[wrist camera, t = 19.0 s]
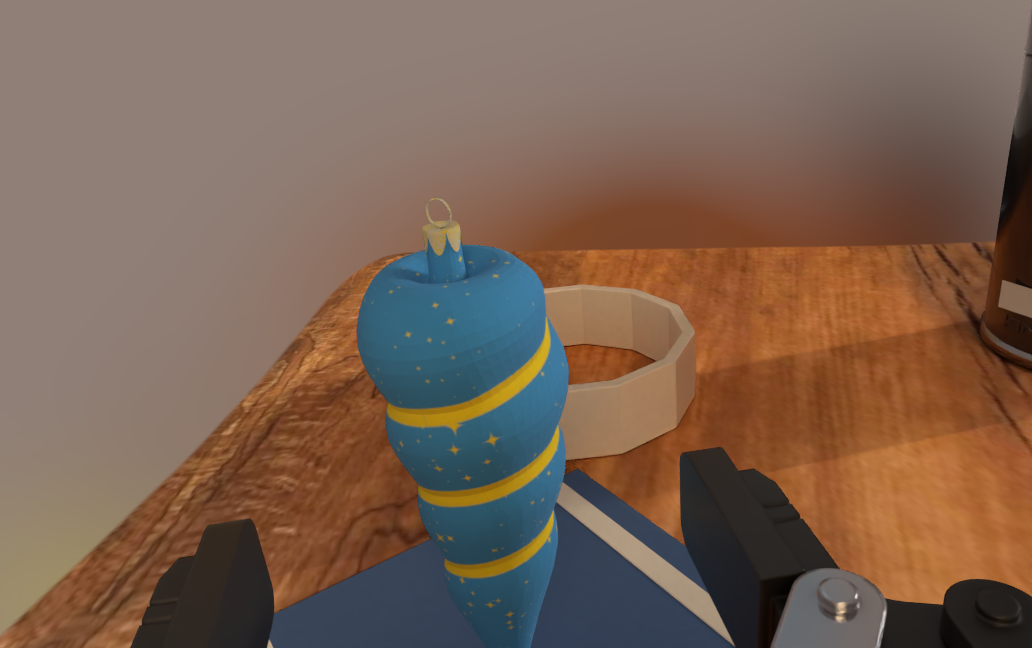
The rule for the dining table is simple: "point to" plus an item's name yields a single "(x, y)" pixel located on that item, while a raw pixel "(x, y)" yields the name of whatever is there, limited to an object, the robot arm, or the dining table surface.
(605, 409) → the faceted beige ring
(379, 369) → the ornament
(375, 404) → the dining table surface
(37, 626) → the dining table surface
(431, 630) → the cloth
